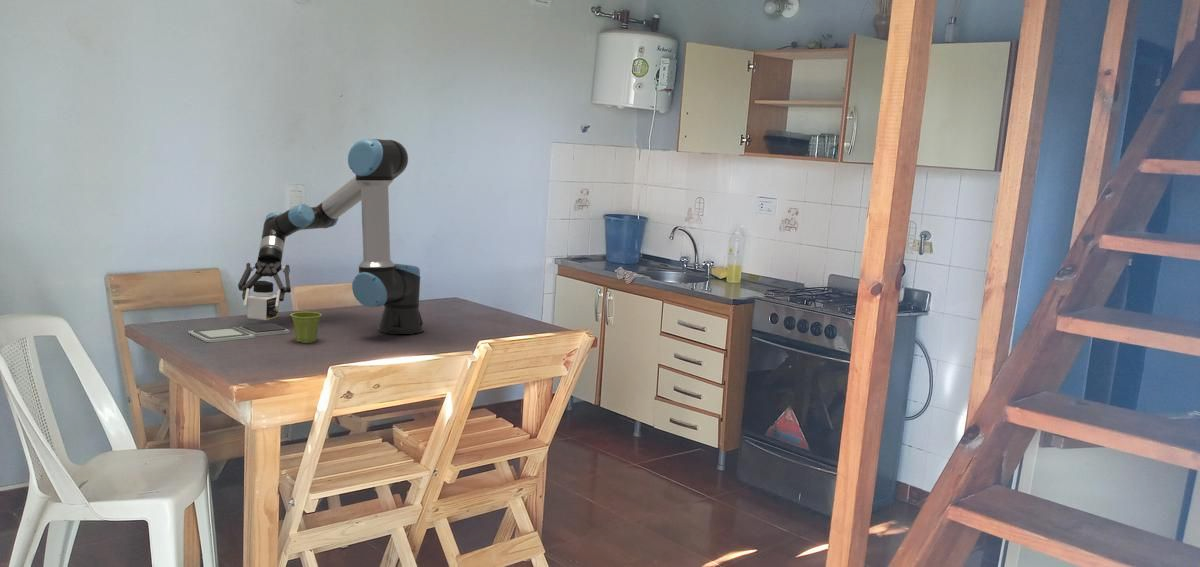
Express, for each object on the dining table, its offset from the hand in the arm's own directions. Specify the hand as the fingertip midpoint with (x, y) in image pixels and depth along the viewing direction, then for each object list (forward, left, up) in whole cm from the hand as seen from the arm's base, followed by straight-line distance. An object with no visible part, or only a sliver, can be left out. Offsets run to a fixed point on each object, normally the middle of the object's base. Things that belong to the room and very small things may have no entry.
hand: (261, 307), depth 298 cm
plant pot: (-17, -7, -9) cm, 20 cm away
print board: (+2, +12, -8) cm, 15 cm away
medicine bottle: (+3, -2, -4) cm, 5 cm away
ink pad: (+2, -2, -8) cm, 9 cm away
